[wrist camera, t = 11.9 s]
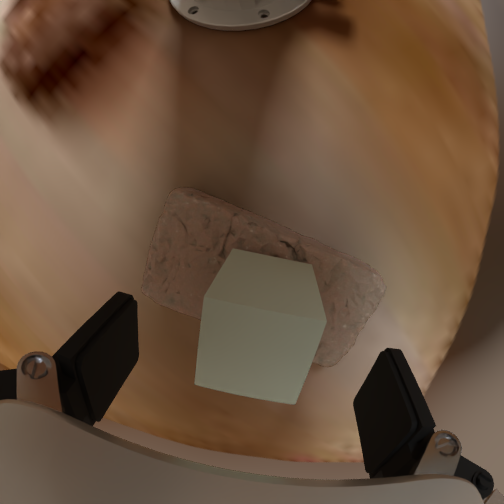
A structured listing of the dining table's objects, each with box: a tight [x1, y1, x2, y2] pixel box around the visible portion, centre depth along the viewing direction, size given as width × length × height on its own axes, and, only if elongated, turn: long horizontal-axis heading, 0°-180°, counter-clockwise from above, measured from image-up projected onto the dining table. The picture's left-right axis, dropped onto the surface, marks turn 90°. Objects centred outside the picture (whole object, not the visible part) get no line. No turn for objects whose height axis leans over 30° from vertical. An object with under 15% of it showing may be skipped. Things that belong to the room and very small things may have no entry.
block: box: [194, 248, 327, 405], centre depth 15 cm, size 5×5×7 cm
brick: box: [141, 187, 386, 367], centre depth 21 cm, size 17×8×5 cm, turn 67°
